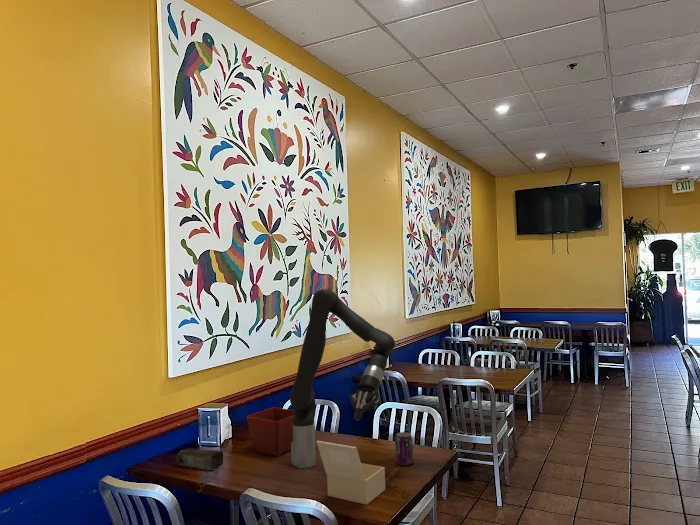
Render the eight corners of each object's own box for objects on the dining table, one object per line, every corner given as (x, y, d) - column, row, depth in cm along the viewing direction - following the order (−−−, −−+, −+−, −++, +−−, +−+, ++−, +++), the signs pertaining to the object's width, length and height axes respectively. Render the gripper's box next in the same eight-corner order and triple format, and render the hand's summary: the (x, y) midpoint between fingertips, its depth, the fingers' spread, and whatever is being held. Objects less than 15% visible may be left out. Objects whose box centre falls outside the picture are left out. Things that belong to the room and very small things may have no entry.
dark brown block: (188, 460, 223) (188, 445, 223) (224, 465, 215) (224, 450, 215) (176, 467, 215) (175, 451, 215) (212, 472, 208) (212, 456, 208)
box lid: (327, 472, 181) (326, 474, 180) (317, 440, 177) (316, 441, 176) (365, 480, 172) (364, 482, 172) (356, 447, 168) (355, 448, 168)
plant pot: (305, 447, 234) (304, 411, 235) (278, 460, 218) (277, 421, 219) (274, 441, 245) (273, 406, 245) (246, 453, 229) (245, 416, 229)
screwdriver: (397, 471, 202) (396, 466, 202) (400, 471, 201) (400, 466, 201) (381, 486, 188) (381, 480, 188) (384, 486, 187) (384, 481, 187)
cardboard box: (327, 495, 180) (327, 473, 181) (348, 481, 192) (347, 460, 193) (366, 504, 172) (365, 480, 172) (385, 489, 184) (384, 467, 184)
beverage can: (412, 466, 205) (411, 437, 206) (395, 466, 207) (394, 436, 207) (413, 460, 212) (412, 432, 213) (397, 460, 214) (396, 431, 214)
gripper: (353, 372, 197) (337, 411, 186) (383, 375, 190) (368, 415, 179) (360, 383, 202) (345, 422, 191) (390, 386, 195) (375, 426, 184)
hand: (356, 419), depth 185 cm, fingers closed
